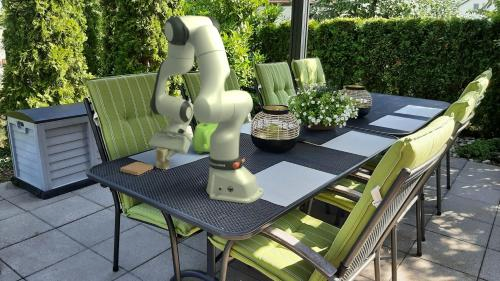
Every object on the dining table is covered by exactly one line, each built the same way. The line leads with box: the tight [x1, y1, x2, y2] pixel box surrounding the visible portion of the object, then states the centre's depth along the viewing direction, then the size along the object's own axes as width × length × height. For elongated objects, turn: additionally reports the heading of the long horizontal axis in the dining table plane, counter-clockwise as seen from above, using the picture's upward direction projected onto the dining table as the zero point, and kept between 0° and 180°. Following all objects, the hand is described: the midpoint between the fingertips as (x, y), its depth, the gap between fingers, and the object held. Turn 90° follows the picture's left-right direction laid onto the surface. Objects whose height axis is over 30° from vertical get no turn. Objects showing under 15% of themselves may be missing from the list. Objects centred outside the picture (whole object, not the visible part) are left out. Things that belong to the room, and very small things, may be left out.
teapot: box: [191, 122, 218, 154], centre depth 196 cm, size 25×22×16 cm
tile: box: [120, 161, 155, 176], centre depth 167 cm, size 10×10×2 cm
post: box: [155, 148, 170, 171], centre depth 169 cm, size 4×4×9 cm
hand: (161, 158), depth 169 cm, fingers closed on post, 4 cm apart
